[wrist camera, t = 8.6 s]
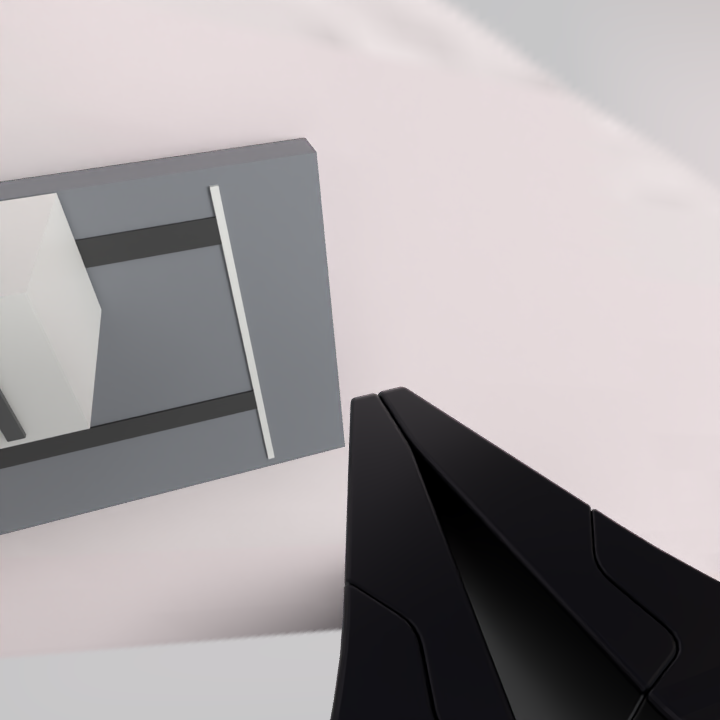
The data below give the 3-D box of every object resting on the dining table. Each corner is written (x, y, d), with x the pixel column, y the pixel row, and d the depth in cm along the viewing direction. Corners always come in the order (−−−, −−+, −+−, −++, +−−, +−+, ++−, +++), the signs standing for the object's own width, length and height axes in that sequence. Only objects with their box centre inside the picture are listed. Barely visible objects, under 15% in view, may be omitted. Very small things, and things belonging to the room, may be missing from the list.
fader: (101, 309, 14) (89, 431, 11) (-4, 329, 14) (-51, 463, 10) (56, 193, 13) (24, 295, 9) (-67, 211, 12) (-149, 326, 9)
